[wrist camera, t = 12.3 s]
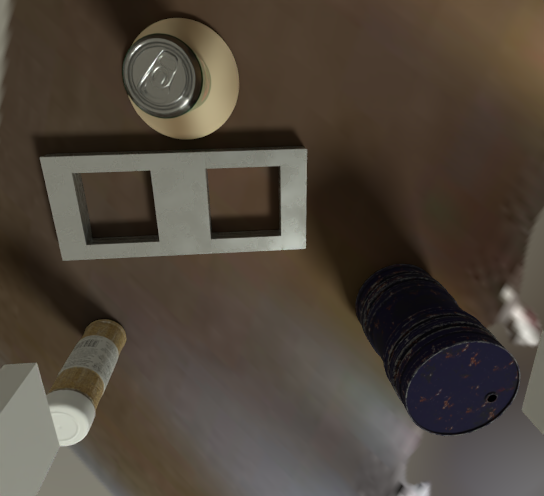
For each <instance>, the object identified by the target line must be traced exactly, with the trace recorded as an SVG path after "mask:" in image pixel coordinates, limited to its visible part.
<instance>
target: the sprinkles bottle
mask: <svg viewBox="0 0 544 496" xmlns="http://www.w3.org/2000/svg"><path fill="white" fill-rule="evenodd" d="M125 342H126V333H125V331H124V329H123V327H122V326H121V325H119V324H118V323H116V322H115V321H112V320H109V319H101V320H96V321H94V322H92V323H90V324H89V326H88V327H87V328H86V329H85V332H84V335H83V337H82V338H81V340H80V341H79V342H78V343H77V345H76V346H75V348H74V350H73V351H72V353H71V355H70V356H69V358H68V359H67V361H66V363H65V364H64V366H63V368H62V369H61V371H60V373H59V374H58V376H57V379H56V381H55V383H54V384H53V386H52V388H51V390H50V391H49V393H48V394H47V395H46V398H47V401H48V405H49V409H50V412H51V416H52V420H53V423H54V427H55V430H56V434H57V438H58V441H59V445H60V446H68V445H73V444H75V443H78V442H79V441H81V440H82V439H83V438H84V437H85V436H86V435H87V433H88V431H89V429H90V427H91V425H92V422H93V420H94V417H95V411H96V408H97V405H98V403H99V400H100V398H101V396H102V395H103V393H104V391H105V388H106V386H107V384H108V381H109V379H110V377H111V374H112V372H113V370H114V367H115V365H116V362H117V360H118V356H119V354H120V352H121V349H122V348H123V346H124V345H125Z"/></svg>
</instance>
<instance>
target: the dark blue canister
mask: <svg viewBox="0 0 544 496" xmlns="http://www.w3.org/2000/svg"><path fill="white" fill-rule="evenodd" d="M356 314H357V317H358V320H359V322H360V323H361V325H362V328H363V331H364V333H365V335H366V337H367V339H368V340H369V342H370V344H371V345H372V347H373V348H374V350H375V351H376V353H377V354H378V355H379V356H381V358H382V360H383V363H384V368H385V372H386V375H387V377H388V379H389V381H390V382H391V384H392V386H393V388H394V390H395V392H396V394H397V395H398V397H399V399H400V400H401V401H402V403H403V404H404V406H405V408H406V410H407V412H408V414H409V416H410V417H411V419H412V421H413V422H414V423H415V424H416V425H417V426H419V427H420V428H421V429H423V430H425V431H427V432H429V433H432V434H436V435H442V436H455V435H462V434H467V433H470V432H473V431H476V430H478V429H481V428H483V427H485V426H487V425H488V424H490V423H492V422H493V421H494V420H496V419H497V418H498V417H499V416H501V415H502V414H503V413H504V412H505V411H506V410H507V408H508V407H509V406H510V405H511V403H512V402H513V400H514V398H515V396H516V394H517V391H518V388H519V384H520V370H519V366H518V364H517V361H516V360H515V358H514V357H513V356H512V354H511V353H509V352H508V351H507V350H506V349H505V348H504V347H503V346H502V345H501V344H500V343H499V342H498V341H497V339H496V338H495V337H494V335H493V334H492V333H491V332H490V331H488V330H487V329H486V328H485V327H484V326H483V325H482V324H481V323H480V322H479V321H478V320H477V319H476V318H475V317H473V316H472V315H470V314H468V313H467V312H465V311H463V310H462V309H461V308H460V307H459V306H458V304H457V302H456V301H455V300H454V298H453V297H452V296H451V295H450V294H449V293H448V292H447V290H446V289H445V288H444V287H443V286H442V285H441V284H440V283H439V282H438V281H436V280H435V279H433V278H432V277H431V276H430V275H429V274H428V273H427V272H426V271H424V270H423V269H421V268H419V267H417V266H414V265H410V264H395V265H391V266H388V267H385V268H382V269H381V270H379V271H377V272H375V273H374V274H373V275H371V276H370V277H369V278H368V279H367V280H366V281H365V283H364V284H363V285H362V287H361V289H360V290H359V293H358V295H357V299H356Z"/></svg>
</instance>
